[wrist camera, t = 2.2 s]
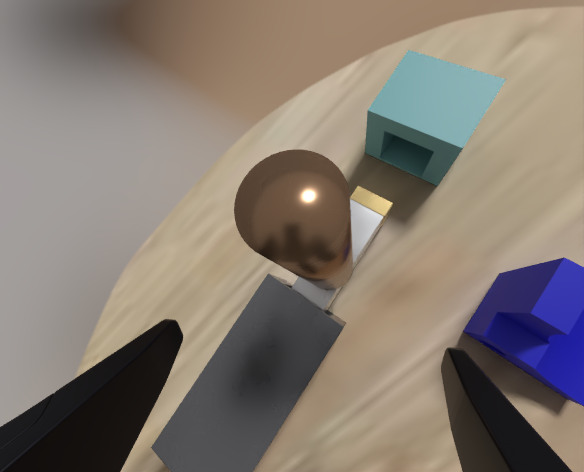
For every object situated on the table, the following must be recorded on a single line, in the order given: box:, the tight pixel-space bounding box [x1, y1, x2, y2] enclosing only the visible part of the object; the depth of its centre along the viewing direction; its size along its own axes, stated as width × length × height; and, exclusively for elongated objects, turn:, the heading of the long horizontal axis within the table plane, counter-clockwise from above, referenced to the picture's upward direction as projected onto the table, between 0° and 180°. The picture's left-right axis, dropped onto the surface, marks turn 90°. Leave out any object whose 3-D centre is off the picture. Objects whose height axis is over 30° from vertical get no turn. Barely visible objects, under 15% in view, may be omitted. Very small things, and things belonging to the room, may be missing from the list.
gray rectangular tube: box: [151, 274, 346, 472], centre depth 17 cm, size 12×5×4 cm, turn 145°
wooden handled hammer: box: [234, 150, 393, 313], centre depth 13 cm, size 18×3×13 cm, turn 145°
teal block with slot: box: [365, 50, 506, 186], centre depth 19 cm, size 5×6×5 cm
